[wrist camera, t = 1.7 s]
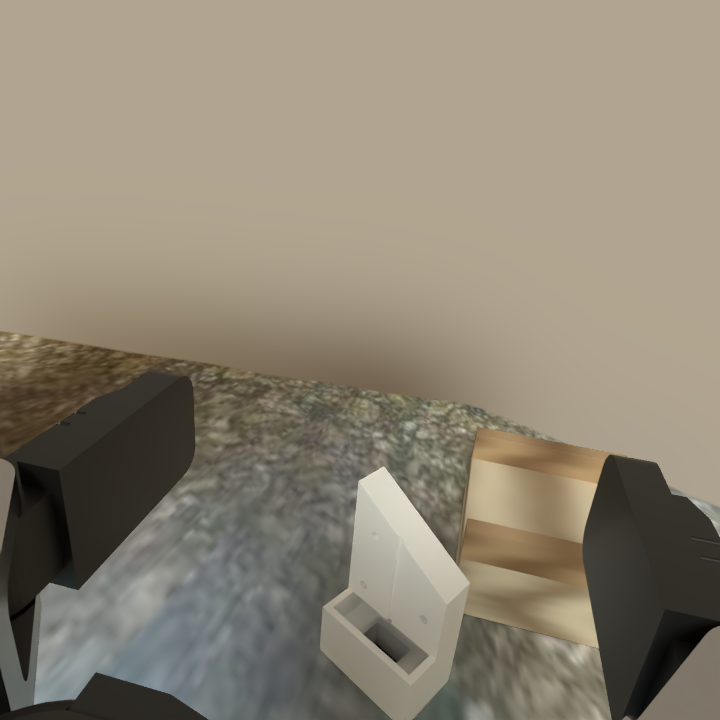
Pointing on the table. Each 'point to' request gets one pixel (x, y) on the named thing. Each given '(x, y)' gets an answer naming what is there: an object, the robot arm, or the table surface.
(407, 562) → the white angled block
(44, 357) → the table surface
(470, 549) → the wooden step block
